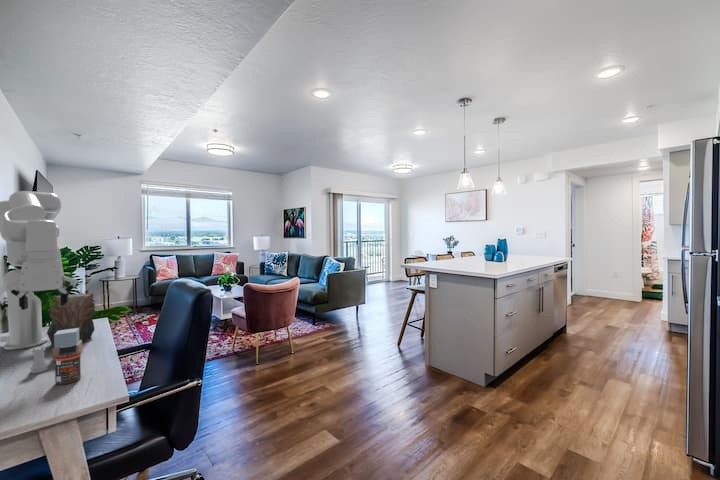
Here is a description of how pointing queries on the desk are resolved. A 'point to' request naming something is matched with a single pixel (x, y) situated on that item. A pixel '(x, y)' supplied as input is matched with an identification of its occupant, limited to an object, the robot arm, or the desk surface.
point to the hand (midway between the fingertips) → (44, 307)
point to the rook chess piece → (39, 360)
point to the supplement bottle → (67, 364)
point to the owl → (72, 316)
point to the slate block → (66, 337)
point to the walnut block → (56, 351)
